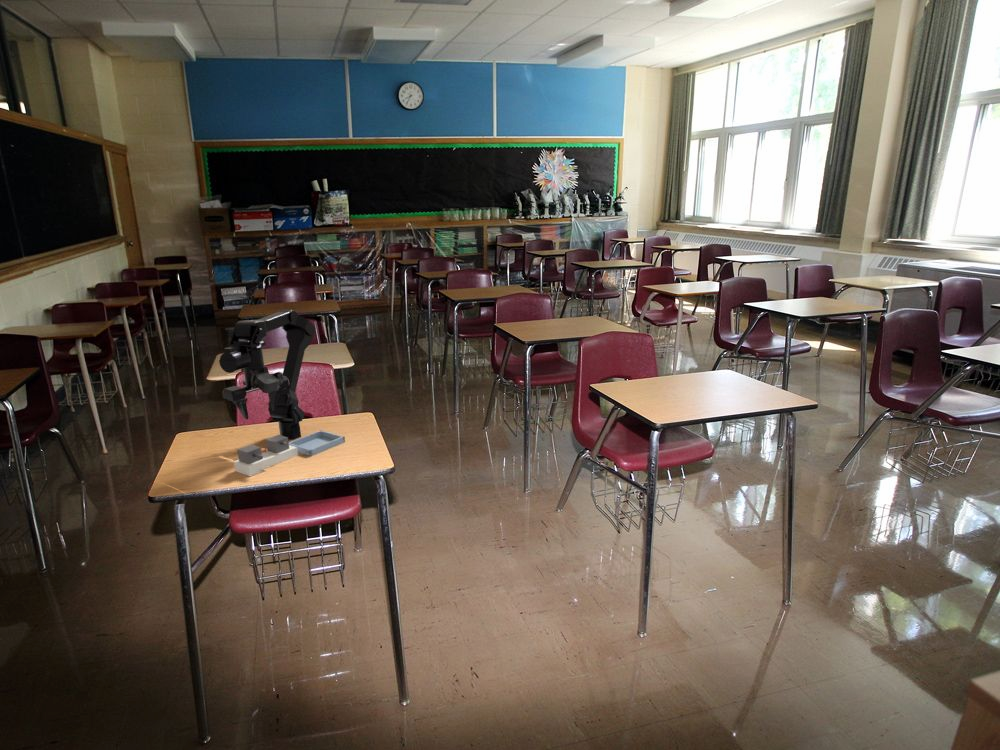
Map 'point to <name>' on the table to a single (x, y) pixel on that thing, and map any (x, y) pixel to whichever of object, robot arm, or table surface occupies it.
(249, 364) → the robot arm
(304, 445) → the tray
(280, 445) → the grey block with knob
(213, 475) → the table surface
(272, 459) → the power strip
